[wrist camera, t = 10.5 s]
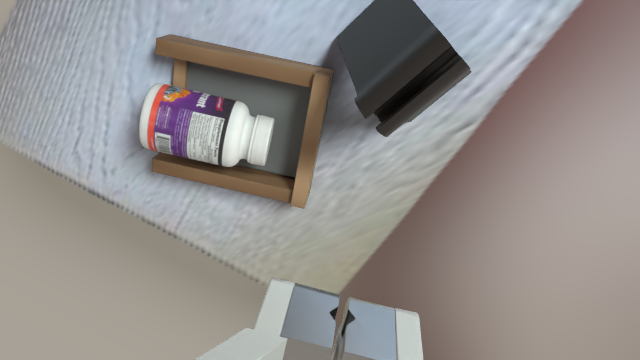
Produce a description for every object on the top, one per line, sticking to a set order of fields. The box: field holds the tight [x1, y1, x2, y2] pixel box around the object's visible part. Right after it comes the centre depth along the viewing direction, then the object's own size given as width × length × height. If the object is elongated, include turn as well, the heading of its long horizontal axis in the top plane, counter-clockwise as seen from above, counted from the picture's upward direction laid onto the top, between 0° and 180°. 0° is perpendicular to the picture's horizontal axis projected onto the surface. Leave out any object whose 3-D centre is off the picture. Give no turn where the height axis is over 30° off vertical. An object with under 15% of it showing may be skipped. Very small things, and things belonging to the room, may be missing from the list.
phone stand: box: [337, 0, 471, 137], centre depth 31 cm, size 9×6×12 cm, turn 43°
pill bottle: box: [139, 83, 274, 167], centre depth 37 cm, size 5×5×10 cm
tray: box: [152, 34, 334, 209], centre depth 39 cm, size 11×14×3 cm
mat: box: [187, 61, 312, 178], centre depth 40 cm, size 9×11×1 cm
